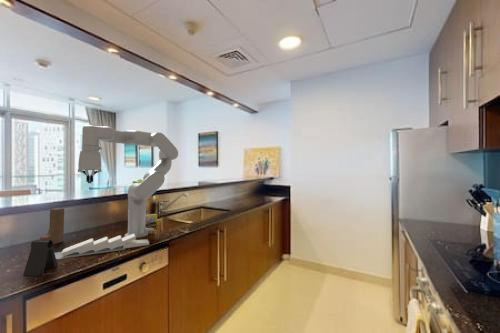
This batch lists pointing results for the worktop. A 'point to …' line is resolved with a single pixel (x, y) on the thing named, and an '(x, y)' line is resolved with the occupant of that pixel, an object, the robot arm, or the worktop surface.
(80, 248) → the domino
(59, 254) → the mat
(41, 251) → the phone stand
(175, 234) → the worktop surface
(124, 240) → the domino
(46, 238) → the wooden block
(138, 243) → the domino
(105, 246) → the domino
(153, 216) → the candy box
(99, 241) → the domino
